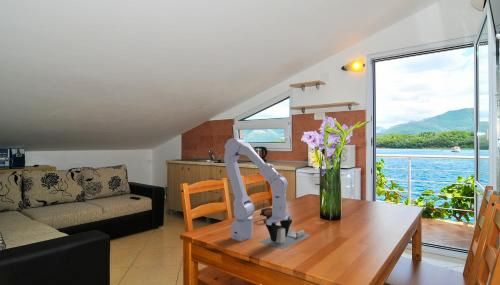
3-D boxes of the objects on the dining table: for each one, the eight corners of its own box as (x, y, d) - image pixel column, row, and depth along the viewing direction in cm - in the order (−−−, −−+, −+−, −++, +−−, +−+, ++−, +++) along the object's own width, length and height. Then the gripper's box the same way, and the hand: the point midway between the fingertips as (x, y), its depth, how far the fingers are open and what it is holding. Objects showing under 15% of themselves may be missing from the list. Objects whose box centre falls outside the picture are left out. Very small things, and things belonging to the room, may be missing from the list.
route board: (282, 251, 115) (282, 249, 115) (258, 244, 123) (258, 241, 123) (311, 237, 131) (311, 235, 131) (288, 231, 140) (288, 229, 139)
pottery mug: (257, 224, 153) (256, 208, 157) (264, 228, 161) (263, 213, 165) (280, 220, 149) (278, 204, 153) (285, 224, 157) (283, 209, 161)
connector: (280, 243, 121) (280, 227, 121) (273, 241, 124) (273, 225, 124) (285, 241, 123) (285, 226, 123) (277, 239, 126) (277, 224, 126)
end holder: (297, 238, 127) (297, 233, 127) (282, 235, 132) (282, 229, 132) (305, 235, 132) (305, 229, 132) (290, 231, 137) (290, 226, 137)
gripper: (276, 210, 115) (276, 245, 115) (297, 204, 126) (296, 236, 126) (262, 207, 120) (262, 241, 120) (283, 202, 131) (283, 232, 131)
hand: (279, 238), depth 124 cm, fingers open, 7 cm apart
